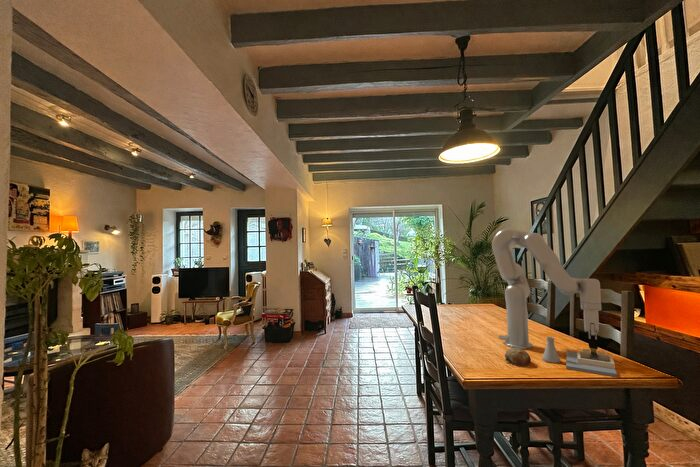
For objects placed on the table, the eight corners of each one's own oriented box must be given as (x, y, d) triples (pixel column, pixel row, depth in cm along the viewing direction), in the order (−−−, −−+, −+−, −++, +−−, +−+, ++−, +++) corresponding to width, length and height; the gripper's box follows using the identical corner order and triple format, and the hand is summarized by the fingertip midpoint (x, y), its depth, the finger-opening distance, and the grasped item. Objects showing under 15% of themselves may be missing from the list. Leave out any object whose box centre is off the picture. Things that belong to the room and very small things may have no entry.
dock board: (566, 368, 130) (565, 359, 130) (567, 352, 150) (566, 344, 150) (617, 377, 121) (616, 366, 121) (610, 358, 141) (610, 350, 141)
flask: (564, 364, 135) (563, 340, 136) (545, 363, 137) (544, 339, 137) (557, 358, 142) (555, 335, 143) (539, 357, 144) (538, 335, 145)
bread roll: (503, 368, 142) (497, 352, 141) (517, 355, 146) (511, 340, 145) (523, 376, 132) (516, 359, 132) (538, 362, 136) (531, 345, 135)
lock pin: (591, 362, 132) (590, 343, 133) (590, 353, 144) (589, 335, 145) (599, 363, 131) (597, 343, 132) (596, 353, 143) (595, 335, 143)
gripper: (580, 302, 153) (582, 341, 152) (581, 308, 139) (583, 350, 138) (600, 304, 148) (602, 344, 147) (602, 309, 135) (605, 353, 134)
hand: (593, 347), depth 143 cm, fingers closed on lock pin, 2 cm apart
